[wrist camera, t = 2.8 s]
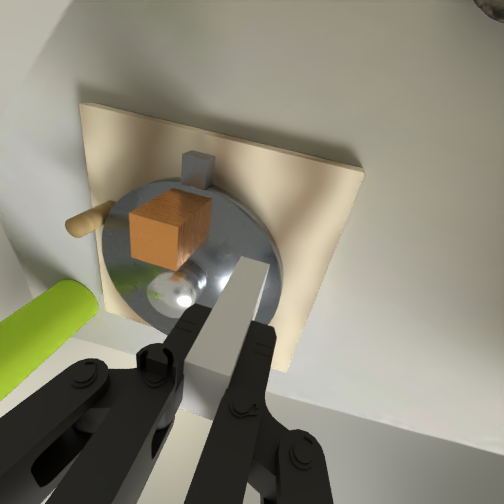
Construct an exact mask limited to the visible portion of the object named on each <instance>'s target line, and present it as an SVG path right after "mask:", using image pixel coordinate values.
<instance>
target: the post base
mask: <svg viewBox="0 0 504 504" xmlns="http://www.w3.org/2000/svg"><path fill="white" fill-rule="evenodd" d="M79 110H80V117H81V125H82V133H83V141H84V148H85V156H86V164H87V172H88V179H89V187H90V195H91V202H92V209H89V210H87V211H85V212H83V213H81V214H79V215H76V216H74V217H72V218H70V219H68V220H66V222H65V227H66V229H67V231H68V232H69V234H71V235H72V236H73V237H76V238H81V237H83V236H84V235H86V234H88V233H90V232H92V231H93V230H95V233H96V241H97V249H98V257H99V264H100V272H101V280H102V288H103V295H104V303H105V311H107V312H110V313H113V314H116V315H119V316H122V317H125V318H128V319H131V320H133V321H136V322H139V323H142V324H145V325H148V326H151V325H150V324H148V323H147V322H146V321H144V320H143V319H142V318H141V317H140V316H138V315H137V314H136V313H135V312H134V311H133V310H132V309H131V308H130V307H129V306H128V304H127V303H126V302H125V301H124V300H123V298H122V297H121V296H120V294H119V293H118V291H117V290H116V288H115V286H114V285H113V283H112V281H111V279H110V277H109V274H108V272H107V269H106V266H105V263H104V259H103V254H102V231H103V227H104V223H105V220H106V218H107V216H108V213H109V212H110V210H111V209H112V207H113V206H114V204H115V203H116V202H117V201H118V200H119V199H120V198H122V197H123V196H124V195H126V194H127V193H129V192H130V191H132V190H134V189H136V188H139V187H141V186H143V185H145V184H147V183H150V182H152V181H156V180H160V179H163V178H175V177H177V178H181V169H182V154H183V153H186V152H188V151H191V150H194V151H198V152H202V153H206V154H210V155H213V156H216V160H215V169H214V178H213V185H215V186H217V187H219V188H222V189H224V190H226V191H228V192H229V193H231V194H232V195H234V196H236V197H237V198H239V199H240V200H241V201H242V202H244V203H245V204H246V205H247V206H249V207H250V208H251V209H252V210H253V211H254V212H255V213H256V214H257V215H258V216H259V218H260V219H261V220H262V221H263V223H264V224H265V225H266V227H267V228H268V229H269V231H270V233H271V235H272V236H273V238H274V240H275V242H276V244H277V247H278V249H279V252H280V255H281V259H282V263H283V272H284V280H283V289H282V293H281V297H280V301H279V305H278V308H277V310H276V313H275V315H274V317H273V319H272V320H271V322H270V323H269V324H268V325H269V326H272V327H274V328H275V332H276V336H277V340H276V345H275V349H274V354H273V358H272V363H271V368H273V369H276V370H278V371H281V372H284V373H287V370H288V367H289V365H290V362H291V360H292V357H293V355H294V352H295V350H296V347H297V345H298V342H299V340H300V337H301V335H302V332H303V329H304V327H305V324H306V322H307V319H308V317H309V314H310V312H311V309H312V307H313V304H314V302H315V299H316V297H317V294H318V291H319V289H320V286H321V284H322V281H323V279H324V276H325V274H326V271H327V269H328V266H329V264H330V261H331V259H332V256H333V253H334V251H335V248H336V246H337V243H338V241H339V238H340V236H341V233H342V231H343V228H344V226H345V223H346V221H347V218H348V216H349V213H350V210H351V208H352V205H353V203H354V200H355V198H356V195H357V193H358V190H359V188H360V185H361V183H362V180H363V178H364V175H365V171H364V169H363V168H360V167H356V166H352V165H348V164H344V163H340V162H335V161H331V160H327V159H323V158H319V157H315V156H311V155H307V154H302V153H298V152H294V151H290V150H286V149H282V148H278V147H274V146H269V145H265V144H261V143H257V142H253V141H249V140H245V139H241V138H236V137H232V136H228V135H224V134H220V133H216V132H212V131H208V130H203V129H199V128H195V127H191V126H187V125H183V124H179V123H175V122H170V121H166V120H162V119H158V118H154V117H150V116H146V115H141V114H137V113H133V112H129V111H125V110H121V109H117V108H113V107H108V106H104V105H100V104H96V103H79ZM151 327H153V326H151Z"/></svg>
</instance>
